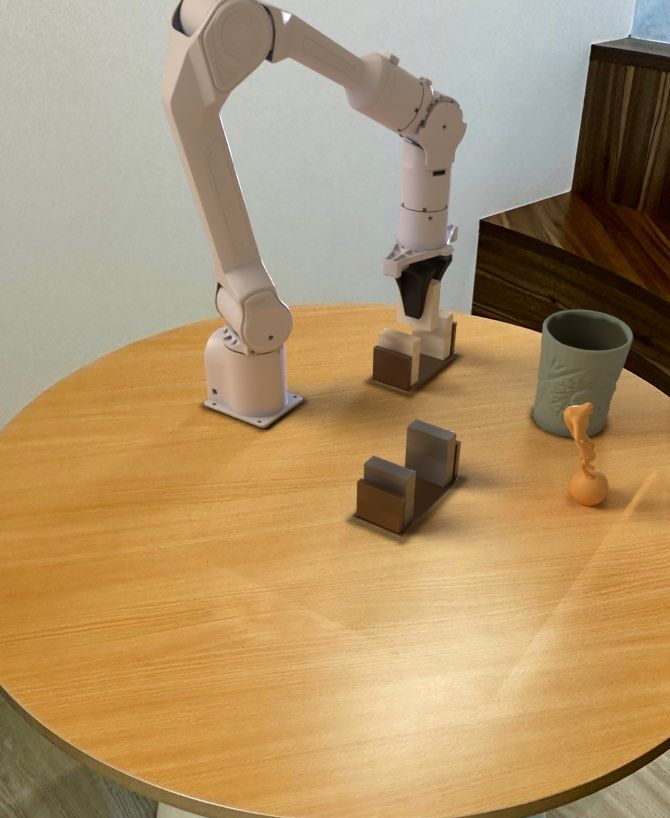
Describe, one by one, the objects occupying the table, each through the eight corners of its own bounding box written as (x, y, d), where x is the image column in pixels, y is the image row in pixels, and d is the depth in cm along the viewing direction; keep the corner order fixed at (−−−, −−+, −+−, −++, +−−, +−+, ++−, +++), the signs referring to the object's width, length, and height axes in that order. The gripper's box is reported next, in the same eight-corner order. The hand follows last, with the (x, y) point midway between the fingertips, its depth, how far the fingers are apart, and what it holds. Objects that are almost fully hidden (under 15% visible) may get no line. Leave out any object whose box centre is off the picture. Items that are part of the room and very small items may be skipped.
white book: (396, 321, 113) (398, 276, 109) (403, 316, 114) (406, 271, 110) (430, 331, 111) (434, 286, 107) (437, 326, 112) (441, 281, 108)
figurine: (607, 528, 91) (631, 429, 84) (548, 521, 92) (567, 423, 84) (602, 481, 97) (625, 385, 90) (547, 476, 98) (565, 380, 90)
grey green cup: (558, 389, 113) (574, 301, 105) (628, 419, 107) (650, 329, 100) (511, 419, 107) (525, 328, 99) (582, 453, 102) (602, 359, 94)
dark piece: (368, 382, 113) (369, 335, 109) (418, 344, 122) (421, 299, 118) (408, 396, 111) (411, 348, 107) (457, 356, 119) (461, 310, 115)
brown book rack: (351, 520, 91) (352, 468, 87) (414, 462, 100) (417, 412, 96) (401, 541, 89) (404, 488, 85) (461, 480, 97) (466, 429, 93)
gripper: (423, 229, 96) (416, 343, 105) (483, 193, 106) (472, 300, 114) (368, 216, 99) (366, 328, 108) (432, 182, 109) (425, 287, 117)
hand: (417, 313), depth 111 cm, fingers closed on white book, 2 cm apart
